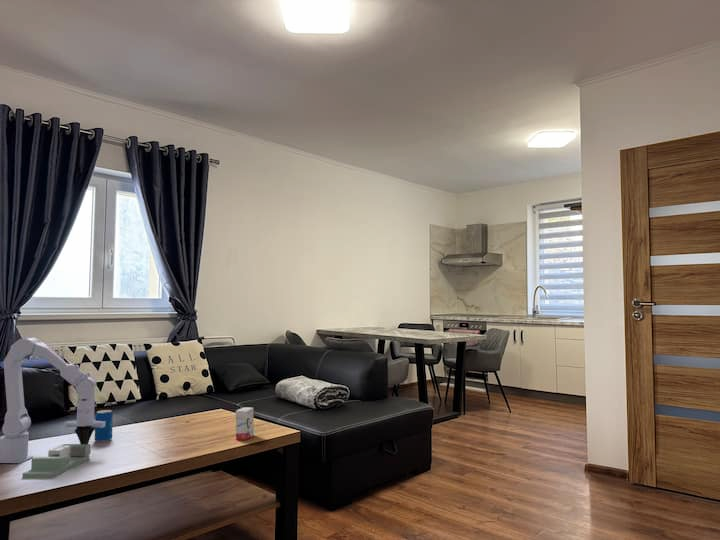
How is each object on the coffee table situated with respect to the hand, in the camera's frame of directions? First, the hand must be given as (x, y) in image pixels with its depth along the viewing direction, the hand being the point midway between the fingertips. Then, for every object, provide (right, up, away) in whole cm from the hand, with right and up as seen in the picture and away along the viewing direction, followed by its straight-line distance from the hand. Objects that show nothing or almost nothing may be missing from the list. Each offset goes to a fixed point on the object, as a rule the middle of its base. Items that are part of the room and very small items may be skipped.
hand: (84, 446), depth 183 cm
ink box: (+55, -4, +22) cm, 60 cm away
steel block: (-1, 0, -14) cm, 14 cm away
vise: (-1, -2, -15) cm, 15 cm away
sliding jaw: (0, -1, -6) cm, 6 cm away
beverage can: (-3, -5, +20) cm, 20 cm away
